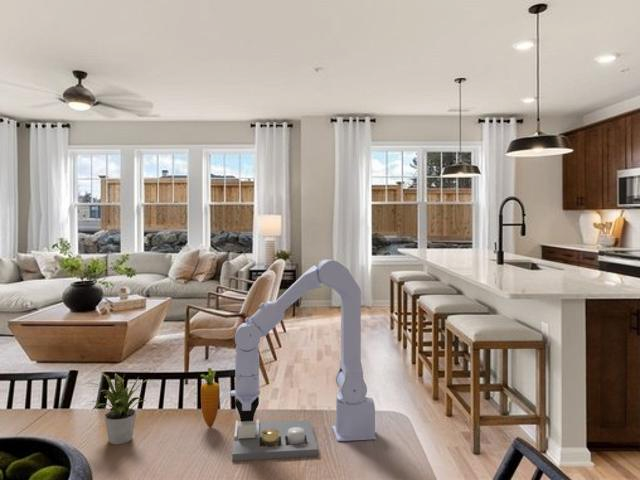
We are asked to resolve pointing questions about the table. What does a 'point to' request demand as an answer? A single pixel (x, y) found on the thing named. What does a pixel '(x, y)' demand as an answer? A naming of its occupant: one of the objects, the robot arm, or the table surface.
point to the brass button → (270, 437)
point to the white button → (296, 436)
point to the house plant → (119, 411)
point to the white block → (246, 429)
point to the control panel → (252, 449)
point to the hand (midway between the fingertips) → (247, 428)
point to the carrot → (209, 398)
